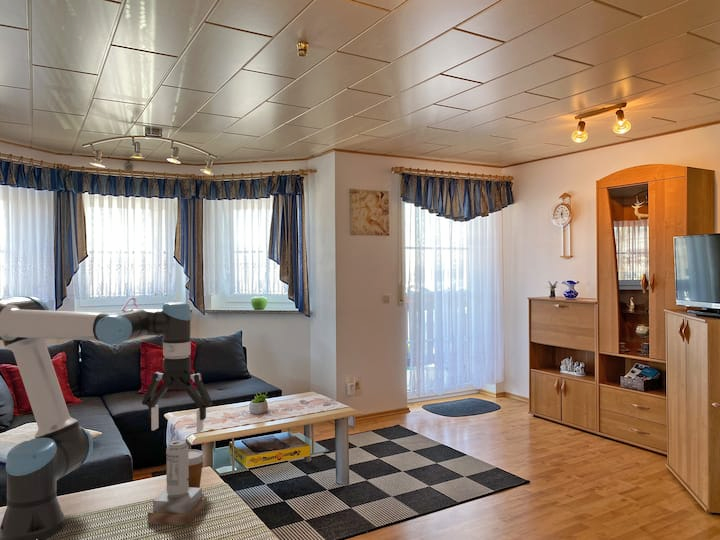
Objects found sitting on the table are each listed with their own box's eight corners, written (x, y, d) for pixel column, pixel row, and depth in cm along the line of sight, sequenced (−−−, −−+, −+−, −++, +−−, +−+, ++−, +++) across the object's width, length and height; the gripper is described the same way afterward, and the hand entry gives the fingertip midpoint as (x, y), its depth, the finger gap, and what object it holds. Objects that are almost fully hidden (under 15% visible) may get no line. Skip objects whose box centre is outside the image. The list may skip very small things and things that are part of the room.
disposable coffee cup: (181, 501, 169) (181, 462, 169) (168, 491, 176) (167, 453, 176) (210, 492, 176) (209, 454, 175) (196, 483, 183) (196, 446, 182)
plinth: (147, 523, 155) (147, 501, 155) (168, 504, 167) (168, 484, 167) (188, 526, 154) (188, 504, 154) (206, 506, 166) (206, 486, 165)
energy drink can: (192, 493, 161) (192, 442, 160) (173, 500, 156) (173, 447, 156) (181, 487, 165) (181, 437, 164) (162, 494, 160) (162, 442, 160)
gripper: (129, 357, 157) (129, 432, 158) (213, 360, 154) (213, 436, 154) (142, 353, 165) (143, 424, 165) (223, 355, 161) (223, 427, 162)
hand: (177, 430), depth 160 cm, fingers open, 13 cm apart
